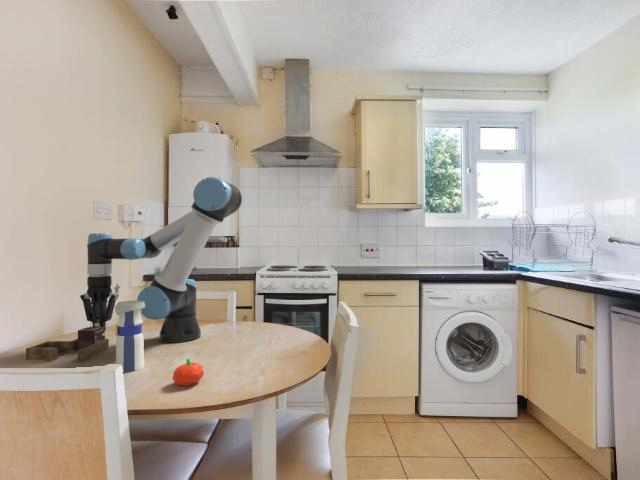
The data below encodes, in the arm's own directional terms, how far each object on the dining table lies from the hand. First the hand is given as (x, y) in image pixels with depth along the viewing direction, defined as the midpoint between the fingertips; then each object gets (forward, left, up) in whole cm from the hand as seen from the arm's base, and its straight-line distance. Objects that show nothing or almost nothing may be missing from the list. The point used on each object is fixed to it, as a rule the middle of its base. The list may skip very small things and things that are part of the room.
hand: (99, 340), depth 129 cm
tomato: (-46, +36, -2) cm, 59 cm away
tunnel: (+4, +11, -2) cm, 12 cm away
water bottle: (-24, +24, -2) cm, 34 cm away
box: (0, +5, -2) cm, 5 cm away
